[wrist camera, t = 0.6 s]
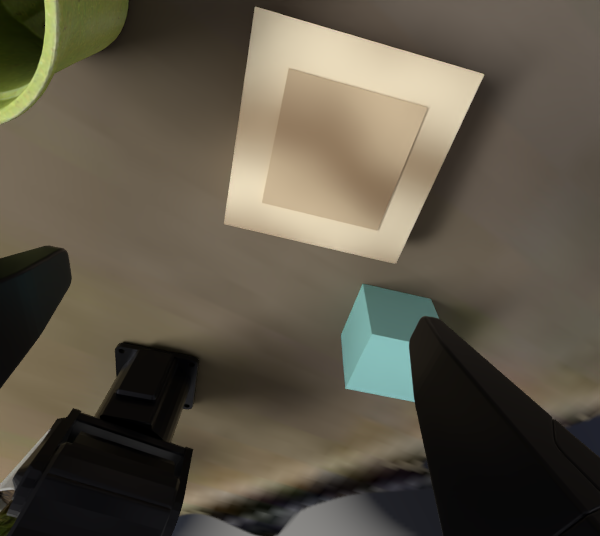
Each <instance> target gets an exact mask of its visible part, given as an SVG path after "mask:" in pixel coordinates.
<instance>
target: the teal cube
mask: <svg viewBox="0 0 600 536" xmlns="http://www.w3.org/2000/svg"><path fill="white" fill-rule="evenodd" d="M423 316H429V317H435V318H438V319H439V317H438V315H437V312H436V310H435V308H434V305H433V303H432V300H431V299H429V298H424V297H420V296H415V295H411V294H407V293H402V292H398V291H393V290H389V289H384V288H380V287H375V286H371V285H367V284H362V287H361V289H360V291H359V294H358V296H357V298H356V301H355V303H354V306H353V308H352V310H351V313H350V315H349V317H348V320H347V322H346V325H345V327H344V329H343V332H342V334H341V341H342V354H343V366H344V378H345V389H350V390H355V391H361V392H366V393H371V394H376V395H381V396H386V397H392V398H397V399H402V400H407V401H412V402H415V400H414V394H413V384H412V374H411V363H410V353H409V341H410V338H411V336H412V334H413V332H414V330H415V328H416V326H417V324H418V322H419V320H420V318H421V317H423Z"/></svg>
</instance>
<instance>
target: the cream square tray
mask: <svg viewBox="0 0 600 536" xmlns="http://www.w3.org/2000/svg"><path fill="white" fill-rule="evenodd" d="M483 76H484V74H482V73H478V72H475V71H472V70H468V69H465V68H461V67H458V66H455V65H451V64H448V63H445V62H441V61H438V60H434V59H431V58H428V57H424V56H421V55H417V54H414V53H411V52H407V51H404V50H401V49H397V48H394V47H390V46H387V45H384V44H380V43H377V42H373V41H370V40H367V39H363V38H360V37H357V36H353V35H350V34H346V33H343V32H340V31H336V30H333V29H329V28H326V27H323V26H319V25H316V24H313V23H309V22H306V21H302V20H299V19H296V18H292V17H289V16H285V15H282V14H279V13H275V12H272V11H269V10H265V9H262V8H258V7H255V10H254V17H253V24H252V31H251V38H250V45H249V52H248V59H247V66H246V73H245V80H244V87H243V94H242V101H241V108H240V115H239V122H238V129H237V136H236V143H235V150H234V157H233V164H232V171H231V178H230V185H229V192H228V199H227V206H226V213H225V220H224V224H226V225H231V226H235V227H239V228H244V229H248V230H252V231H256V232H261V233H265V234H269V235H274V236H278V237H282V238H286V239H291V240H295V241H299V242H304V243H308V244H312V245H317V246H321V247H325V248H329V249H334V250H338V251H342V252H347V253H351V254H355V255H360V256H364V257H368V258H372V259H377V260H381V261H385V262H390V263H394V264H396V262H397V260H398V258H399V256H400V254H401V252H402V250H403V247H404V245H405V243H406V241H407V239H408V237H409V235H410V232H411V230H412V228H413V226H414V224H415V222H416V220H417V217H418V215H419V213H420V211H421V209H422V207H423V205H424V203H425V200H426V198H427V196H428V194H429V192H430V190H431V188H432V185H433V183H434V181H435V179H436V177H437V175H438V173H439V170H440V168H441V166H442V164H443V162H444V160H445V158H446V156H447V153H448V151H449V149H450V147H451V145H452V143H453V141H454V138H455V136H456V134H457V132H458V130H459V128H460V126H461V123H462V121H463V119H464V117H465V115H466V113H467V111H468V108H469V106H470V104H471V102H472V100H473V98H474V96H475V94H476V91H477V89H478V87H479V85H480V83H481V81H482V79H483Z"/></svg>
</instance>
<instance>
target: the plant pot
mask: <svg viewBox="0 0 600 536" xmlns="http://www.w3.org/2000/svg"><path fill="white" fill-rule="evenodd" d="M128 2H129V0H0V125H1V124H4V123H7V122H9V121H11V120H13V119H15V118H17V117H18V116H20V115H21V114H23V113H25V112H26V111H27V110H28V109H29V108H30V107H32V106H33V105H34V104H35V103H36V101H37V100H38V99H39V98H40V97H41V96H42V94H43V93H44V91H45V90H46V88H47V87H48V85H49V83H50V81H51V79H52V77H53V75H54V73H56V72H58V71H60V70H62V69H64V68H66V67H68V66H70V65H72V64H74V63H76V62H78V61H80V60H82V59H85V58H87V57H89V56H91V55H93V54H96V53H98V52H99V51H101V50H103V49H104V48H106V47H107V46H108V45H110V44H111V43H112V42H113V41H114V40H115V39H116V38H117V36H118V35H119V34H120V32H121V30H122V28H123V26H124V23H125V20H126V16H127V11H128ZM44 23H45V27H44V26H43V24H44Z"/></svg>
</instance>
